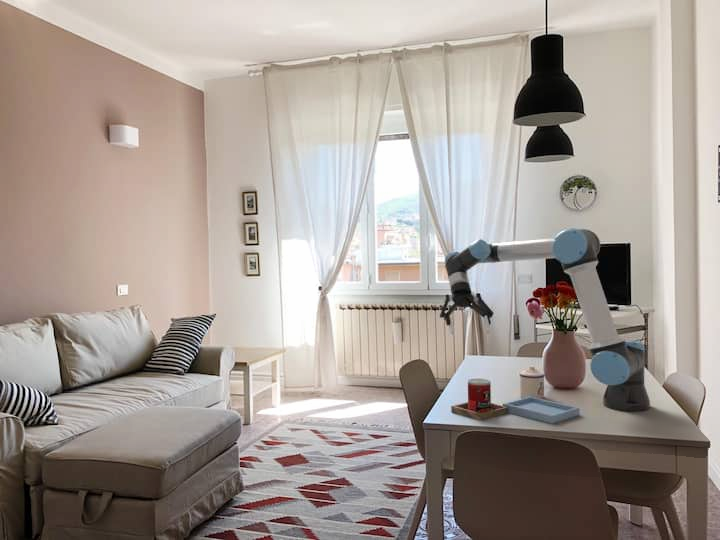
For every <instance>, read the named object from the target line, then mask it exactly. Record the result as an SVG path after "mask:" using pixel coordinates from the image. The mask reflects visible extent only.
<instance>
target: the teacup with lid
mask: <svg viewBox="0 0 720 540" xmlns="http://www.w3.org/2000/svg"><path fill="white" fill-rule="evenodd" d="M519 378H520V380H519V389H520V390H519V393H520V394H519V395H520V397H521V399H523V398H526V397H534V398H539V399H544V397H545V373H544V372H542V371H541V370H538V369H537V368H535V366H533V365H529V366H528V368H527V369H525V370H522V371H520V372H519Z"/></svg>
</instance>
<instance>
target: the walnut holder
mask: <svg viewBox="0 0 720 540" xmlns="http://www.w3.org/2000/svg"><path fill="white" fill-rule="evenodd" d="M450 411H451V413H454V414H458V415H461V416H464V417H468V418H471V419H476V420H479V421H484V420H488V419H491V417H492V418H495V417H498V416H501V415H502V416H503V415H505V414H508V413H509V412H508V407H506V406H503V404H497V403H494V402H491V411H488V412H485V413H477V412H474V411H470V410H468V401H467V402H462V403H458V404H455V405H451V410H450Z"/></svg>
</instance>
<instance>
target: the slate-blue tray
mask: <svg viewBox="0 0 720 540" xmlns="http://www.w3.org/2000/svg"><path fill="white" fill-rule="evenodd" d="M502 406H506V407H508V413H510V414H514V415H517V416H521V417H525V418H528V417H529V418H528V419H532V418H533V420H536V419H537V421H540V422H544V423H548V424H551V423H553V424H556V423H559V422H562V421H565V420H564V419H566V420H568V418H569V419H571V417H572V418H574V416H575V417H578V416H580V407H579V406H578V407H577V406H573V405H568V404H564V403H561V402H560V403H559V402H555V401H550V400H546V399H544V398H542V399H539V398H534V397H526V398H520V399H516V400H512V401H508V402H504V403H502ZM577 415H578V416H577ZM561 420H562V421H561ZM558 421H559V422H558ZM555 422H556V423H555Z"/></svg>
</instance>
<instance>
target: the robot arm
mask: <svg viewBox="0 0 720 540" xmlns="http://www.w3.org/2000/svg"><path fill="white" fill-rule="evenodd" d="M600 249H601V240H600V238H599V237H598V235H597V234H596V233H595V232H594V231H592V230H590V229H584V228H583V229H582V228H574V227H573V228H569V229H564V230H562V231H560V232H559V233H558V234H556V236H555V237H552V238H550V237H549V238H541V239H531V240H529V239H528V240H520V241H519V240H518V241H508V242H499V243H488V242H486V241H485V240H483V239H482V238H479V239H477V240H475V241H473V242H471V243H470V244H469V245H468V246H467V247H465V248H464V249H463V250H461V251H460V252H459V251H452V252H449V253H447V254H446V255H445V257H444V264H445V266H444V267H445V271H446V274H447V277H448V282H449V288H450V292H451V295H449V294H445V297H444V304H443V306H442V308H441V311H440V314H439V317H440V318H444V321H445V325H446V326H449V331H450V335H453V334H454V332H455V326H454V321H453V316H452V313H454V311H455V310H456V309H457V308H458V307H460V308H470V309H471V310H474V311H475V312H476V313H477V314H478V315H480V316H481V317H482V318H483V319H482V321H483V325H484V330H485V333H486V335H489V334H490V332H491V326H490V325H491V324H492V322H491V318H492V317H493V316H494V311H493V310H492V309H491V308H490V307H489V306H488V304H487V303H486V302H485V301H484V300H483V298H482V296H481V295H480V294H478V295H477V296H475V295H473V292H472V289H471V285H470V281H469V277H468V274H467V273H468V271H469V270H470V269H472V268H474V267H475V266H476V265H478V264H488V263H490V264H491V263H493V264H495V263H502V262H516V261H530V260H531V261H532V260H543V259H544V260H547V259H556V260H557V261H559V262H560V263H561V266H562V269H563V272H564V273H565V274H567V275H569V277H570V280H571V282H572V286H573V288H574V289H573V290H574V292H575V295H576V297H577V301H578V304H579V306H580V310H581V313H582V316H583V318H584V319H583V320H584V322H585V325H586V328H587V331H588V334H589V337H590V341H591V343H590V345H589V347H588V349H589V352H590V357H591V360H590V366H589V367H590V371H591V374H592V376H593V377H594V378H595V380H597V381H598V382H599V383H601V384H603V385H606V388H605V391H604V394H603V397H602V405H603V406H605V407H607V408H609V409H614V410H618V411H626V412H627V411H628V412H642V411H647V410H649V409H650V408H651V401H650V397H649V394H648V392H647V388H646V386H645V354H646V351H645V345H644V343H643V342H639V341H631V340H625V338H623V337H621V336H619V334H618V331H617V328H616V325H615V322H614V319H613V316H612V314H611V309H610V307H609V304H608V302H607V298H606V296H605V292H604V289H603V286H602V283H601V280H600V278H599V274H598V272H597V268H596V267H597V266H598V264H599V259H598V256H597V255H598V254H599V253H600ZM451 301H452V302H453V304H452V306H451V307H450V308H449V309H448V310H447V307H448V305H449V303H450V302H451ZM446 310H447V312H446Z"/></svg>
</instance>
